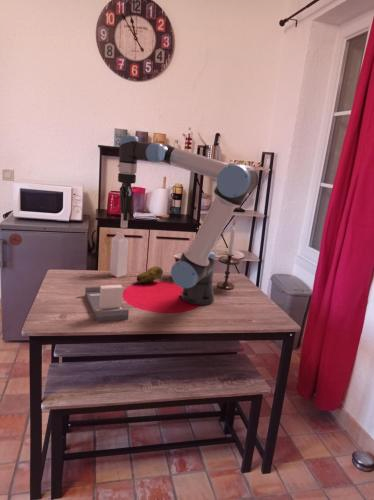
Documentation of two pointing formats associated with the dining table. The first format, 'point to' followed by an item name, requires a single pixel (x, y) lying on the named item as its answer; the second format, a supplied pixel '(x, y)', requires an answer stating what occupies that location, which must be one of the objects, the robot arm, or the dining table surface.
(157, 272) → the potato
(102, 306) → the fader knob
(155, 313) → the dining table surface
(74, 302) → the dining table surface
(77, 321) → the dining table surface
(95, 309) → the fader deck
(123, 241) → the milk
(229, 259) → the candlestick
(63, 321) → the dining table surface
